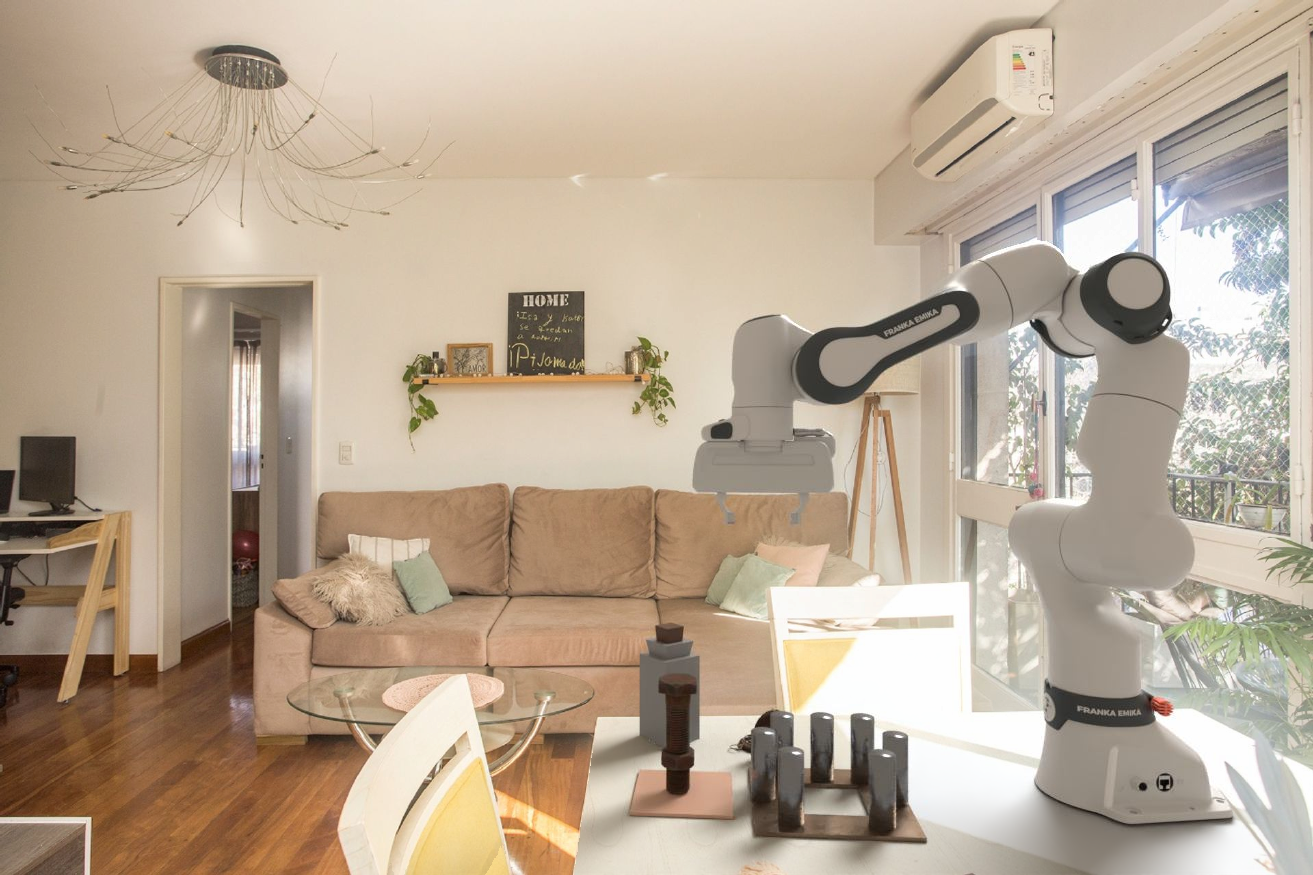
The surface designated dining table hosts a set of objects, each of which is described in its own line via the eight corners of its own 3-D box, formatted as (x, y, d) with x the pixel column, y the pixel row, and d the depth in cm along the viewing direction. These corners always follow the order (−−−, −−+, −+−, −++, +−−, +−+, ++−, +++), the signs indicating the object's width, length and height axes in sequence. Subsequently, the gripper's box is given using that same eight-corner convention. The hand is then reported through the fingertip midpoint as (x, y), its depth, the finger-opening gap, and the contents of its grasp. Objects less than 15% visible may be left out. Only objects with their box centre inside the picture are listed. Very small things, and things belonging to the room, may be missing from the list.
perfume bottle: (639, 738, 125) (639, 624, 125) (673, 729, 129) (673, 619, 129) (665, 751, 120) (665, 632, 120) (699, 741, 124) (699, 626, 124)
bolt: (696, 801, 102) (696, 685, 102) (657, 799, 102) (657, 684, 103) (697, 782, 108) (697, 672, 108) (660, 780, 108) (660, 671, 108)
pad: (731, 774, 111) (731, 772, 111) (733, 818, 98) (733, 815, 98) (639, 772, 112) (639, 769, 112) (629, 815, 99) (629, 811, 99)
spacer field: (891, 774, 111) (891, 710, 112) (927, 841, 93) (927, 765, 93) (747, 769, 113) (747, 706, 113) (754, 835, 94) (754, 759, 94)
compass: (765, 738, 125) (764, 692, 125) (792, 756, 118) (792, 707, 118) (720, 746, 122) (720, 699, 122) (746, 765, 115) (746, 715, 115)
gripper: (832, 428, 116) (832, 522, 116) (693, 428, 118) (693, 521, 117) (838, 428, 110) (838, 527, 110) (691, 428, 111) (691, 526, 111)
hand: (762, 524), depth 114 cm, fingers open, 8 cm apart
